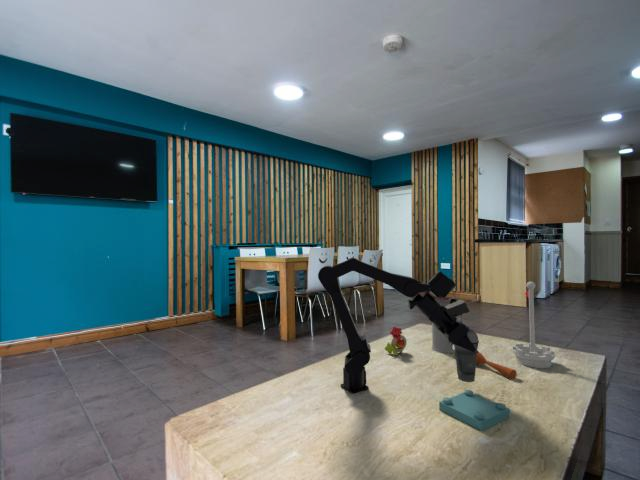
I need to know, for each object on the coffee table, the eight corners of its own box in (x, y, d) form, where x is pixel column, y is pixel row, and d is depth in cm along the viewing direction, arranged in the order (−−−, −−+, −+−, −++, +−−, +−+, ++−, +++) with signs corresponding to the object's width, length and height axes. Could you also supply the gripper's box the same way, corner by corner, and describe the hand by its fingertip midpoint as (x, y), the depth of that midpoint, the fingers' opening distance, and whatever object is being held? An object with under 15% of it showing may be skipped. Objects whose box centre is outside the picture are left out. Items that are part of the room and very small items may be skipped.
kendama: (505, 369, 105) (458, 347, 123) (507, 386, 105) (459, 361, 124) (518, 363, 107) (469, 342, 125) (520, 380, 107) (471, 356, 126)
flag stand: (562, 369, 113) (560, 283, 114) (522, 368, 115) (519, 283, 116) (543, 357, 126) (541, 279, 127) (507, 356, 128) (505, 279, 129)
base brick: (481, 430, 76) (481, 418, 77) (439, 409, 87) (439, 398, 87) (510, 416, 83) (509, 405, 83) (467, 398, 93) (467, 388, 93)
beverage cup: (476, 386, 92) (475, 315, 93) (450, 380, 97) (449, 312, 97) (482, 378, 98) (481, 311, 99) (456, 372, 103) (455, 308, 103)
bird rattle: (395, 355, 137) (379, 350, 133) (403, 329, 139) (387, 323, 135) (406, 360, 131) (390, 354, 127) (413, 333, 134) (398, 326, 130)
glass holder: (435, 344, 144) (435, 310, 144) (469, 351, 135) (469, 314, 135) (428, 349, 137) (427, 314, 137) (463, 356, 128) (462, 318, 128)
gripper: (461, 295, 89) (504, 337, 88) (443, 287, 108) (478, 321, 106) (431, 323, 90) (474, 365, 88) (419, 310, 109) (454, 344, 107)
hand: (470, 347), depth 97 cm, fingers closed on beverage cup, 7 cm apart
